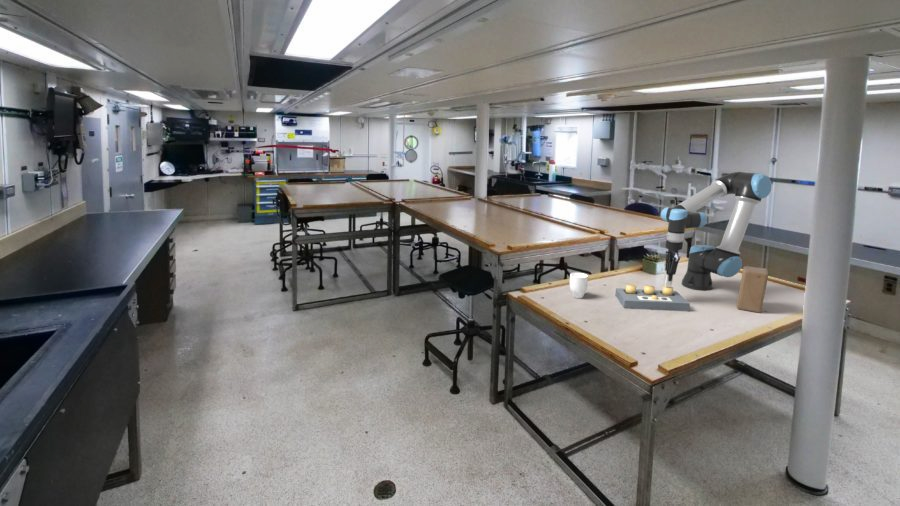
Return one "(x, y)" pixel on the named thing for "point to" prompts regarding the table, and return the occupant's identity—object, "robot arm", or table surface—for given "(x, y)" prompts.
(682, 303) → the console
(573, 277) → the mug
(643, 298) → the card
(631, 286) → the button
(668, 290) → the button
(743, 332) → the table surface
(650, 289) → the button middle
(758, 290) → the wooden block
